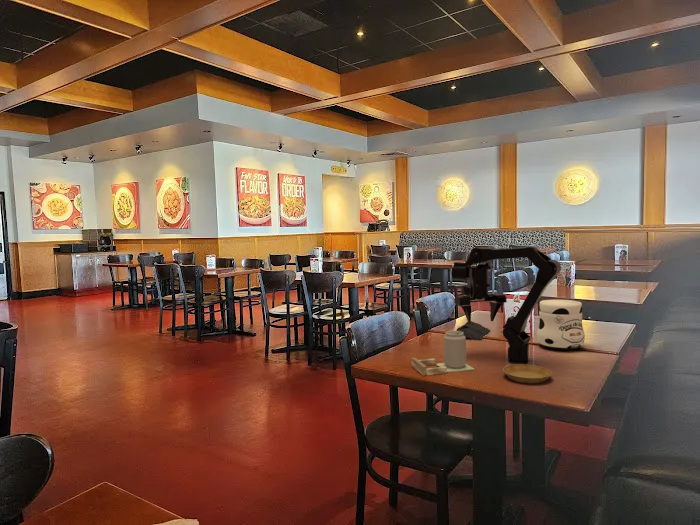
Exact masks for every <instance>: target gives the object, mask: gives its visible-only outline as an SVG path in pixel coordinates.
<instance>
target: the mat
mask: <svg viewBox="0 0 700 525" xmlns="http://www.w3.org/2000/svg"><path fill="white" fill-rule="evenodd" d="M435 366H437V367H438V366H439V367H447V366H446V365H445V364H444V362H440V363H435ZM467 371H468V372H469V371H475V368H474V367H472V366H470V365H469V364H468V363H466V365H465V366H464V367H463V368H449V367H447V372H448V373H456V372H457V373H458V372H467Z"/></svg>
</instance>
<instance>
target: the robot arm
mask: <svg viewBox="0 0 700 525" xmlns="http://www.w3.org/2000/svg"><path fill="white" fill-rule="evenodd" d="M522 258H523V259H524V258H525V259H526V258H527V259H528V260H529V261H530V262H531V263H532V264H533V265H534V267H536V269H538V270H537V272H536V275H535V281H534V284H533V285H532V287H531V288H530V290H529V292H528V293H527V296H526V297H525V299H524V300H523V303H522V304H521V306H520V308H519V309H518V311H517V313H516V314H515V315H511V316H509V317H507V319H506V321H505V324H504V325H503V326H502V328H503V330H502V334H503V337H504V339H506V341H507V343H508V345H509V346H508V347H507V360H508V363H514V364H516V363H517V364H526V365H529V362H530V359H531V358H530V344H529V342H530V341H531V338H532V337H531V336H530V335H529V334H528V332H526V331H525V330H526V327H527V325H528V324H527V323H528V319H529V318H530V316H531V314H532V312H533V311H534V309H535V308H536V305H537V304H538V302H539V300H540V299H541V297H542V296H543V294H544V292H545V290H546V289H547V287H548V286H549V285H550V284H551V283H552V281H554V280H555V278H556V277H557V276H558V275H559V274H560V273H561V271H562V266H561V264H560V262H559V261H557V260H556V259H552V258H550V256H548V255H547V254H545V253H544V252H542V251H540V250H539V248H537V246H533V245H531V246H523V247H507V248H505V247H504V248H494V247H487V246H478V247H473V248H472V249H471V250H470V252H469V257H468V258H467V259H466V260H465V262H459V261H454V262H453V265H452V269H451V278H452V280H454V281H469V280H470V278H471V283H470V286H469V287H468V286H467V285H462V286H461V288H460V289H461V290H460V293H461V295H456V296H455V297H454V299H453V303H454V304H456V305H457V306H458V307H460V308H461V309H462V311H463V312H464V315H465V318H466V321H467V322H468V323H470V322H471V321H472V305H470V304H471V303H479V302H488V303H489V306H490V316H489V318H490V322H494V320H495V318H496V315H497V313H498V312H499V310H500V308H501V307H502V306H503V305H504V304H505V303H507V302H508V300H507V296H506V294H503V293H497V292H496V293H490V294H489V288H490V286H491V284H490V283H489V270H492V269H494V268H495V266H494V265H492V264H491V262H490V261H493V260H504V259H505V260H506V259H522ZM485 262H486V263H485ZM481 263H482V264H481ZM474 265H475V266H474Z"/></svg>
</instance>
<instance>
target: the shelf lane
mask: <svg viewBox="0 0 700 525" xmlns="http://www.w3.org/2000/svg"><path fill="white" fill-rule="evenodd" d="M429 365H430V366H436V359H435V358H427V359H417V358H416V357H411V367H412V368H413V367H414V368H413V369H415V370H416V371H417V372H418V373H419V372H420V373H419V374H421V375H422V376H424V377H425V375H426V376H434V375H433V374H436V375H443V374H444V373H447V367H438V366H437V367H429ZM427 367H429V368H427ZM447 374H448V373H447Z"/></svg>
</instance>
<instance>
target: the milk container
mask: <svg viewBox="0 0 700 525" xmlns="http://www.w3.org/2000/svg"><path fill="white" fill-rule="evenodd" d="M538 309H539V313H538V315H539V316H538V317H539V323H538V328H537V331H536V332H537V333H536V338H537V342H538V343H539V345H540V346H542V347H544V348H547V349H552V350H559V351H560V350H561V351H565V350H567V351H572V350H577V349H580V348H582V347H583V346H584V344H585V340H586V334H585V330H584V327H583V303H582V302H581V301H578V300H570V299H543V300H540V302H539V306H538Z"/></svg>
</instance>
